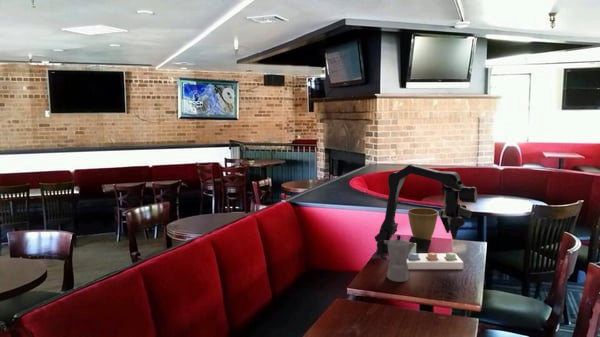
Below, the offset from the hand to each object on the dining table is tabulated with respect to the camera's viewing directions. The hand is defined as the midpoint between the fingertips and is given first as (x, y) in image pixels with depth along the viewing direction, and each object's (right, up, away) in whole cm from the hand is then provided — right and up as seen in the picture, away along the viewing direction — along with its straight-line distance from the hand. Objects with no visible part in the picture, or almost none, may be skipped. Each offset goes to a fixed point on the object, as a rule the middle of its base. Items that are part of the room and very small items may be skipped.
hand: (450, 235), depth 205 cm
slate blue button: (-16, -12, 0) cm, 20 cm away
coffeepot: (-27, -15, -14) cm, 34 cm away
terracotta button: (-8, -11, 0) cm, 14 cm away
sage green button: (0, -11, -1) cm, 11 cm away
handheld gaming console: (-10, -11, +20) cm, 25 cm away
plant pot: (-4, -8, +34) cm, 35 cm away
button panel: (-8, -13, +1) cm, 15 cm away
